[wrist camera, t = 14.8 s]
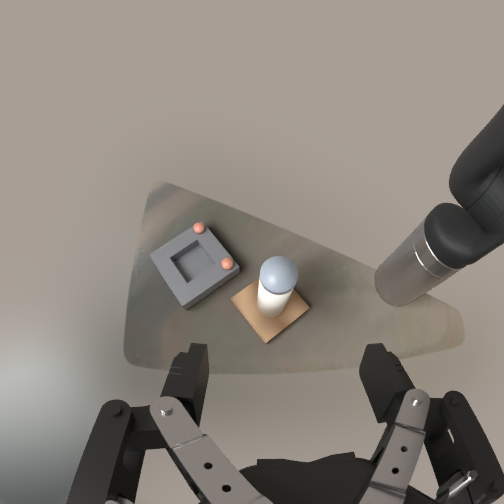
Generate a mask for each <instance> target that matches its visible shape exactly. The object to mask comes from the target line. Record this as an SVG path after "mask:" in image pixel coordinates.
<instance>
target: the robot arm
mask: <svg viewBox="0 0 504 504" xmlns="http://www.w3.org/2000/svg"><path fill="white" fill-rule="evenodd" d="M449 188H450V191H451V193H452V195H453V196H454V198H455V199H456V200H457V202H458V203H459V204H460V205H461V206H462V207H463V208H462V207H460V206H458V205H455V204H452V203H442V204H439V205H437V206H436V207H435V208H434V209H433V210H432V211H431V212H430V213H429V214H428V215H427V216H426V218H425V219H424V220H423V221H422V222H421V223H420V224H419V225H418V227H417V228H416V229H415V230H414V231H413V232H412V233H411V234H410V235H409V236H408V237H407V239H406V240H405V241H404V242H403V243H402V244H401V245H400V246H399V247H398V248H397V249H396V250H395V251H394V252H393V253H392V254H391V255H390V256H389V257H388V258H387V259H386V260H385V261H384V262H383V263H382V264H381V265H380V266H379V267H378V269H377V271H376V274H375V284H376V288H377V291H378V293H379V295H380V296H381V297H382V299H384V300H385V301H386V302H387V303H389V304H390V305H393V306H404V305H406V304H408V303H409V302H411V301H413V300H415V299H416V298H418V297H420V296H421V295H423V294H425V293H426V292H428V291H429V290H431V289H432V288H434V287H436V286H437V285H438V284H440V283H442V282H443V281H445V280H446V279H448V278H449V277H451V276H452V275H453V274H455V273H456V272H458V271H459V270H461V269H462V268H464V267H465V266H466V265H470V264H473V263H475V262H476V261H478V260H479V259H480V258H482V257H484V256H485V255H487V254H488V253H490V252H491V251H493V250H494V249H496V248H497V247H498V246H500V245H502V244H503V243H504V105H503V106H502V107H501V109H500V110H499V111H498V112H497V114H496V115H495V116H494V117H493V119H491V121H490V122H489V123H488V124H487V125H486V126H485V127H484V129H483V130H482V131H481V132H480V133H479V134H478V135H477V136H476V137H475V139H474V140H473V141H472V142H471V143H470V144H469V145H468V146H467V148H466V149H465V150H464V151H463V152H462V154H461V155H460V156H459V158H458V159H457V161H456V163H455V165H454V166H453V168H452V171H451V174H450V178H449ZM359 374H360V378H361V381H362V383H363V386H364V388H365V391H366V393H367V396H368V398H369V401H370V403H371V406H372V408H373V411H374V414H375V416H376V419H377V422H378V423H383V422H386V423H387V427H386V428H385V430H384V433H383V435H382V437H381V439H380V441H379V444H378V446H377V448H376V450H375V452H374V454H373V455H372V457H371V459H370V460H366V459H362V458H355V454H354V452H349V453H342V454H335V455H330V456H328V457H324V458H321V459H319V460H315V461H312V462H308V463H307V462H299V461H292V460H286V459H257V465H254V466H250V467H246V468H244V469H241V470H240V471H238V470H237V469H236V468H235V466H234V465H233V464H232V463H231V462H230V461H229V460H228V459H227V457H226V456H225V455H224V454H223V453H222V451H221V450H220V449H219V448H218V446H217V445H216V444H215V443H214V441H213V440H212V439H211V438H210V437H209V436H208V435H207V434H205V435H204V434H203V433H202V432H201V430H200V429H199V425H200V419H201V415H202V409H203V404H204V399H205V393H206V388H207V383H208V377H209V362H208V350H207V344H198V343H191V345H190V348H189V352H188V353H184V352H180V353H179V354H178V355H177V356H176V357H175V358H174V360H173V362H172V365H171V368H170V371H169V374H168V376H167V379H166V382H165V385H164V387H163V390H162V393H161V396H160V398H157V399H156V400H154V401H153V402H152V403H151V405H148V406H143V407H130V406H129V405H128V404H127V403H126V402H124V401H122V400H111V401H108V402H106V403H105V404H104V405H103V406H102V408H101V410H100V412H99V415H98V417H97V419H96V422H95V424H94V427H93V429H92V432H91V434H90V437H89V440H88V442H87V445H86V447H85V450H84V453H83V455H82V458H81V461H80V464H79V466H78V469H77V472H76V475H75V478H74V481H73V484H72V487H71V490H70V493H69V496H68V500H67V503H66V504H134V503H135V498H136V493H137V488H138V483H139V478H140V474H141V468H142V464H143V460H144V455H145V451H146V450H147V449H160V448H165V449H166V450H167V452H168V454H169V455H170V457H171V458H172V460H173V462H174V463H175V465H176V466H177V468H178V469H179V471H180V472H181V474H182V475H183V477H184V479H185V480H186V482H187V483H188V485H189V487H190V488H191V490H192V491H193V492H194V494H195V495H196V496H197V498H198V499H199V500H200V503H199V504H491V503H493V502H494V501H496V500H497V499H498V498H500V497H501V496H502V495H503V494H504V474H503V472H502V469H501V467H500V464H499V462H498V460H497V458H496V455H495V453H494V451H493V449H492V447H491V445H490V443H489V441H488V439H487V437H486V435H485V433H484V431H483V429H482V427H481V425H480V423H479V422H478V420H477V418H476V416H475V414H474V412H473V410H472V409H471V407H470V405H469V403H468V402H467V400H466V398H465V397H464V396H463V394H461V393H460V392H457V391H449V392H447V393H446V394H445V396H444V397H443V398H430V397H429V396H428V394H427V393H426V392H424V391H422V390H420V389H415V387H414V385H413V383H412V381H411V380H410V378H409V376H408V374H407V373H406V371H404V368H403V366H402V365H401V363H400V361H399V359H398V357H396V356H395V355H394V354H393V353H392V352H387V350H386V348H385V347H384V345H383V344H382V343H376V344H368V345H367V346H366V349H365V352H364V355H363V358H362V361H361V364H360V369H359ZM448 429H450V431H451V433H452V436H453V438H454V444H453V442H452V439H451V437H450V435H449V432H448ZM423 442H424V444H425V447H426V450H427V452H428V455H429V458H430V461H431V464H432V467H433V470H434V473H435V476H436V479H437V482H438V485H439V489H438V490H437V493H436V499H435V500H434V499H432V498H430V497H429V496H427V495H425V494H423V493H422V492H420V491H418V490H417V489H415V488H413V487H412V486H410V485H409V482H410V480H411V477H412V474H413V472H414V469H415V466H416V463H417V461H418V458H419V455H420V452H421V448H422V445H423Z"/></svg>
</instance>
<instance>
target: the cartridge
mask: <svg viewBox="0 0 504 504" xmlns="http://www.w3.org/2000/svg"><path fill="white" fill-rule="evenodd" d="M297 280H298V270H297V267H296V265H295V264H294V263H293V262H292V261H291V260H290V259H288V258H286V257H282V256H275V257H271V258H269V259H268V260H266V261H265V262H264V264H263V265H262V267H261V271H260V279H259V287H258V296H257V309H258V311H259V312H260V314H262V315H263V316H265V317H268V318H273V317H276V316H278V315H280V314H281V313H282V311H283V309H284V307H285V305H286V303H287V301H288V299H289V297H290V295H291V293H292V291H293V288H294V286H295V284H296V282H297Z"/></svg>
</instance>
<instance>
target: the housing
mask: <svg viewBox="0 0 504 504" xmlns="http://www.w3.org/2000/svg"><path fill="white" fill-rule="evenodd" d="M150 257H151V258H152V260H153V262H154V263H155V265H156V267H157V268H158V270H159V271H160V273H161V274H162V276H163V278H164V279H165V281H166V282H167V284H168V285H169V287H170V288H171V290H172V291H173V293H174V294H175V296H176V297H177V299H178V300H179V302H180V303H181V305H182V306H183V308H184V309H185V310H187V309H188V308H190V307H191V306H193V305H194V304H196V303H197V302H198V301H200V300H201V299H203V298H204V297H206V296H207V295H209V294H210V293H211V292H213V291H214V290H216V289H217V288H219V287H220V286H221V285H223V284H224V283H226V282H227V281H229V280H230V279H231V278H233V277H234V276H236V275H237V274H239V273H240V270H239V266H238V264H237V263H236V262H235V261H234V260H233V258H232V257H231V256H230V255H229V253H228V252H227V251H226V250H225V249H224V247H223V246H222V245H221V244H220V242H219V241H218V240H217V239H216V237H215V236H214V235H213V234H212V232H211V231H210V230H209V229H208V228H207V226H206V225H205V224H204V223H203V221H200V222H198V223H196V224H195V225H194V226H193V227H191V228H189V229H188V230H186V231H185V232H183V233H182V234H180V235H178V236H177V237H175V238H174V239H172V240H171V241H169V242H168V243H166V244H165V245H163V246H162V247H160V248H159V249H157V250H156V251H154V252H153V253H151V254H150Z"/></svg>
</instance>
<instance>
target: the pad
mask: <svg viewBox="0 0 504 504" xmlns="http://www.w3.org/2000/svg"><path fill="white" fill-rule="evenodd" d="M259 279H260V278H258V279H257V280H256V281H254V282H253V283H252V284H250V285H249V286H247V287H246V288H245V289H243V290H242V291H240V292H239V293H238V294H236V295H235V296H234V297H232V298H231V301H232V302H233V303H234V305H235V306H236V307H237V308H238V310H239V311H240V312H241V313H242V315H243V316H244V317H245V319H246V320H247V321H248V322H249V324H250V325H251V326H252V327H253V329H254V330H255V331H256V332H257V333H258V335H259V336H260V337H261V338H262V340H263V341H264V342H265V343H267V342H268V341H270V340H271V339H272V338H274V337H275V336H276V335H277V334H279V333H280V332H281V331H282V330H284V329H285V328H286V327H287V326H289V325H290V324H291V323H292V322H294V321H295V320H296V319H297V318H298V317H300V316H301V315H302V314H303V313H305V312H306V311H307V310H308V309H309V308H310V307H309V306H308V305H307V304H306V303H305V302H304V300H303V299H302V298H301V297H300V296H299V295H298V293H297V292H296V291H295V290H294V289H293V291H292V293H291V295H290V297H289V299H288V301H287V303H286V305H285V307H284V309H283V311H282V313H281V314H280V315H278V316H276V317H273V318H268V317H265V316H263V315H262V314H260V312H259V311H258V309H257V296H258V287H259Z"/></svg>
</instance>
